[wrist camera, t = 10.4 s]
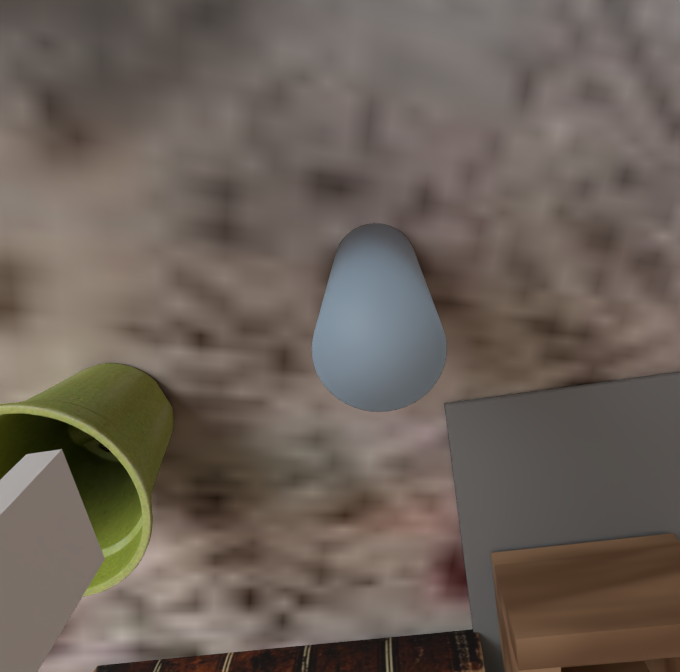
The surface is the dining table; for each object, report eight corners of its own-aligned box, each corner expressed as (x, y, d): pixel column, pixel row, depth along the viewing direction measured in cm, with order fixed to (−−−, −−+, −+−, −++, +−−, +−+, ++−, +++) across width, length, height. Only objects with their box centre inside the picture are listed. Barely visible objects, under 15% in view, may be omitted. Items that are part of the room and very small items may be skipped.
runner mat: (444, 403, 31) (444, 405, 31) (700, 369, 30) (703, 370, 29) (478, 676, 37) (479, 680, 37) (691, 658, 36) (694, 662, 36)
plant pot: (222, 360, 31) (169, 444, 22) (187, 504, 34) (130, 623, 26) (48, 310, 30) (-71, 377, 22) (29, 461, 33) (-81, 568, 25)
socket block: (490, 552, 33) (515, 639, 28) (672, 533, 32) (737, 618, 27) (504, 682, 36) (529, 783, 31) (670, 668, 35) (728, 770, 30)
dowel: (327, 230, 28) (300, 296, 17) (410, 217, 28) (438, 275, 16) (341, 308, 29) (324, 419, 18) (420, 296, 29) (453, 402, 18)
